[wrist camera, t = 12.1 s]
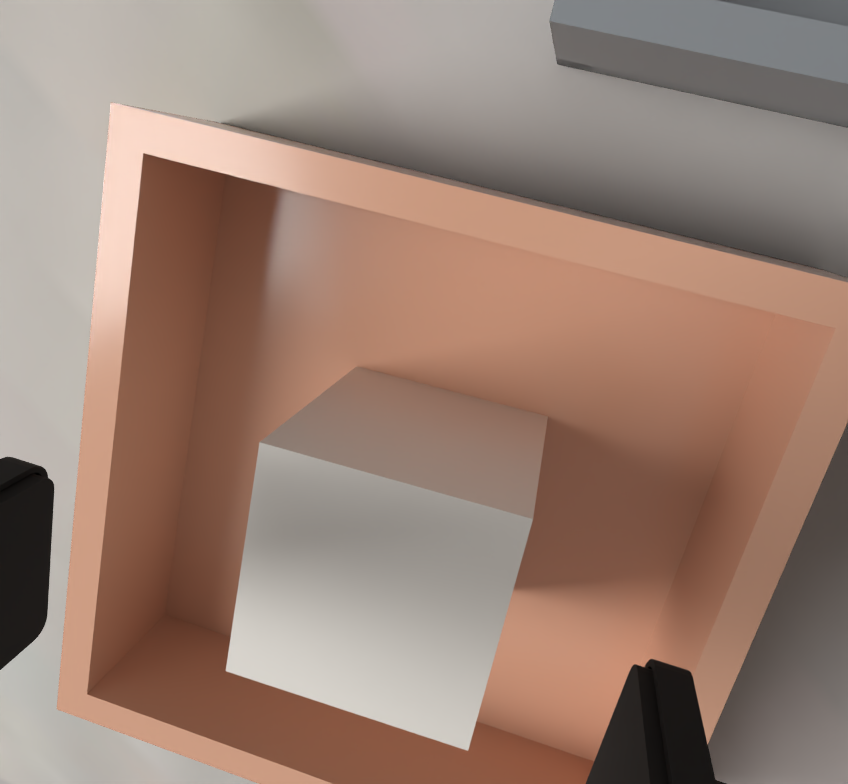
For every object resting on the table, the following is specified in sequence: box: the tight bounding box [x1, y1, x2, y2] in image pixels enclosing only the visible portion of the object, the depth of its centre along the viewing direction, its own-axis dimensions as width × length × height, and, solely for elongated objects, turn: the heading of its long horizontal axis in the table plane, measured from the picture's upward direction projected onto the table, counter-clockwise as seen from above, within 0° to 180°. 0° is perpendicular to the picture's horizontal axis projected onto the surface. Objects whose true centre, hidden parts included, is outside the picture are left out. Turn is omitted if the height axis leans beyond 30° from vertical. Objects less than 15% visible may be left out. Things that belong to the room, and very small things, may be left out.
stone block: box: [226, 366, 548, 751], centre depth 16 cm, size 5×5×6 cm
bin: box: [57, 102, 848, 784], centre depth 18 cm, size 15×15×4 cm
